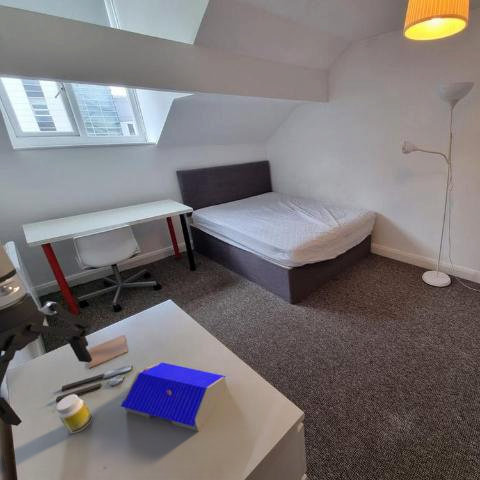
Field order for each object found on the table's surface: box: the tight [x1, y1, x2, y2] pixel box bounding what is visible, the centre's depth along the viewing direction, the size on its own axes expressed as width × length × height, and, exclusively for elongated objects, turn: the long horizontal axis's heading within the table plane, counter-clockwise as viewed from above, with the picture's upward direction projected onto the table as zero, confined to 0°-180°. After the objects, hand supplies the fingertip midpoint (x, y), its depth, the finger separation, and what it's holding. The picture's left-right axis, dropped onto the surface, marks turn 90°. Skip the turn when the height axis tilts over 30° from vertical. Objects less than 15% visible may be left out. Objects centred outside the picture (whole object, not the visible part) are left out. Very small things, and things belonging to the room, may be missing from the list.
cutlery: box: [55, 364, 133, 403], centre depth 78 cm, size 17×6×1 cm, turn 113°
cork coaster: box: [88, 334, 129, 369], centre depth 90 cm, size 10×10×1 cm
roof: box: [120, 362, 228, 432], centre depth 72 cm, size 22×14×7 cm, turn 76°
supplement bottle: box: [55, 394, 93, 434], centre depth 66 cm, size 5×5×8 cm
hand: (53, 388), depth 54 cm, fingers open, 13 cm apart
